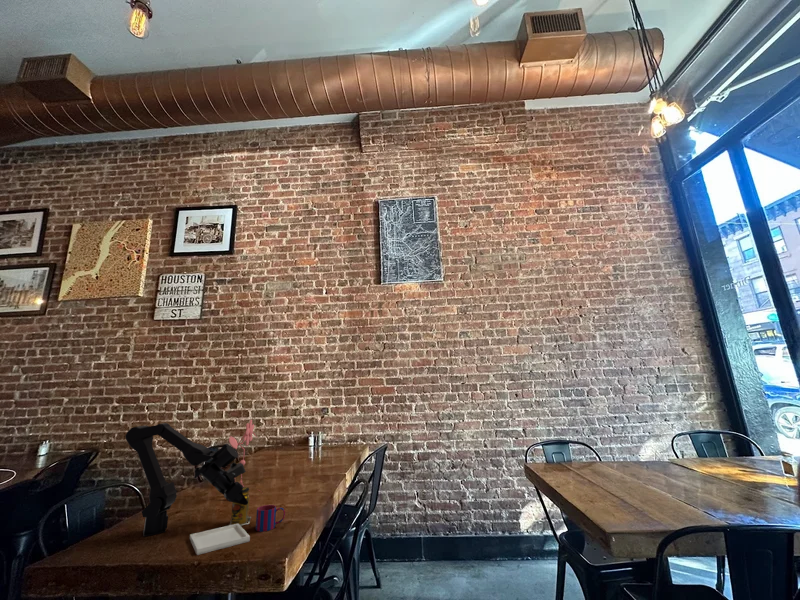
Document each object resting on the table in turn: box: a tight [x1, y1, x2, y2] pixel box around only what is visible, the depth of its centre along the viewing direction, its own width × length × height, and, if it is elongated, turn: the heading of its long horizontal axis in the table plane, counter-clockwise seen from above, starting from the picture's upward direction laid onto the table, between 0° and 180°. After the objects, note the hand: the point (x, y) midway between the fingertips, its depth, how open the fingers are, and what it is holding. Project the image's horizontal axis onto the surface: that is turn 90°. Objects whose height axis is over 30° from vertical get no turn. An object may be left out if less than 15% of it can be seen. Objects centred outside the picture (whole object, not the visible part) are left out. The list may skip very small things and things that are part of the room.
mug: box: [255, 504, 286, 533], centre depth 132 cm, size 7×10×7 cm
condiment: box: [228, 486, 252, 526], centre depth 139 cm, size 7×8×12 cm
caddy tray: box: [189, 524, 251, 556], centre depth 121 cm, size 16×16×2 cm
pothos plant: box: [222, 419, 263, 504], centre depth 176 cm, size 15×26×35 cm, turn 4°
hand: (244, 501), depth 140 cm, fingers open, 9 cm apart
